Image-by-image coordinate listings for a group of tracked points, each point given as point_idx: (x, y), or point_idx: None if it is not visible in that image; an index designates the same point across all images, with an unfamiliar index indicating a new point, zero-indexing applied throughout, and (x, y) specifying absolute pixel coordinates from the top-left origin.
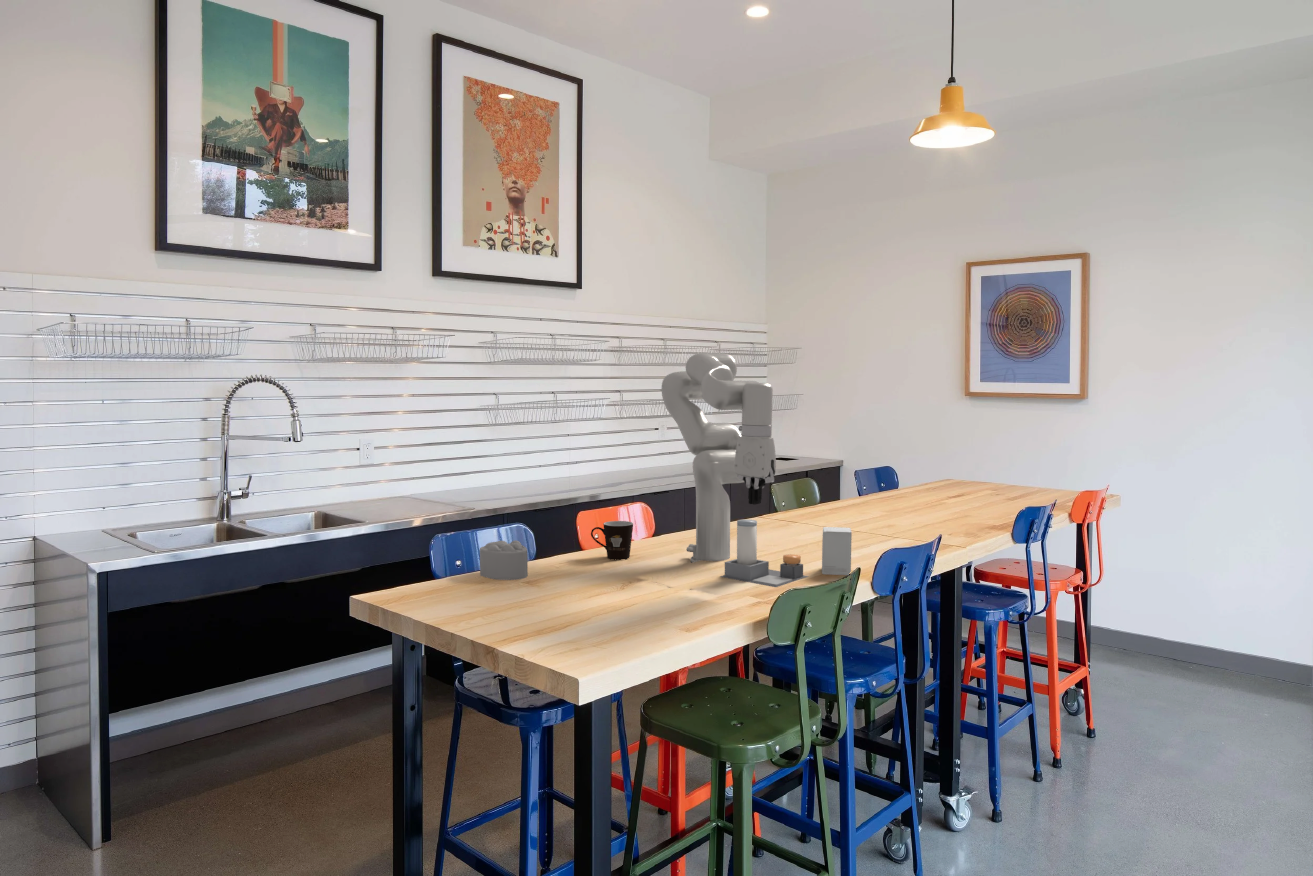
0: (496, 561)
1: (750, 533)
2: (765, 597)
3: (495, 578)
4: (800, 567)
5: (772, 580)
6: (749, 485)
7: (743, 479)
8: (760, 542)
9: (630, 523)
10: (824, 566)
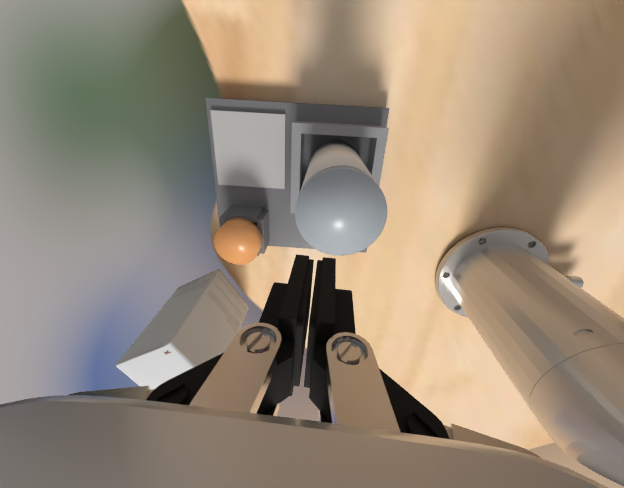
0: None
1: (307, 176)
2: (203, 38)
3: None
4: None
5: (244, 143)
6: (338, 355)
7: (438, 425)
8: None
9: None
10: (205, 284)
